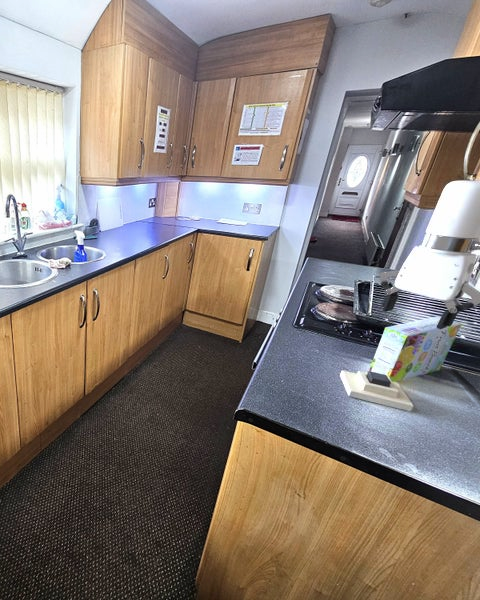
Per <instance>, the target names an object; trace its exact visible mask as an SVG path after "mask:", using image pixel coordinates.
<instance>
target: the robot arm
mask: <svg viewBox="0 0 480 600" xmlns="http://www.w3.org/2000/svg"><path fill="white" fill-rule="evenodd" d="M475 251H480V180H472V179H471V180H467V179H464V180H463V179H461V180H454V181H453V180H452V181H450V182H449V183H447V184H446V185H445V187H444V188H443V190H442V192H441V195H440V197H439V199H438V201H437V204H436V206H435V208H434V211H433V214H432V216H431V218H430V221H429V222H428V225H427V228H426V230H425V233H424V235H423V237H422V240H421V241H420V244H419V245H415V246H414V248H412V250H411V252H410V253H409V255H408V256H407V258H406V259H405V261H404V262H403V264H402V266H401V268H400V269H396V270H390V271H383V272H380V273H379V274H378V275H379V281H380V285H381V288H382V289H383V290H384V294H385V297H384V300H383V302H382V305H381V306H382V307H383V308H382V312H389V311H392V310H394V308H395V305H396V303H397V301H398V298H399V294H398V293H399V292H401V291H403V292H406V293H409V294H414V295H418V296H422V297H424V298H428V299H433V300H436V301H441V302H443V303H444V305H445V307H446V308H447V309H446V310H445V311H443V313H442V314H441V316H440V317H441V318H440V320H439V322H438V325H437V328H438V329H443V328H446V327H447V326H451V325H452V323H453V322H454V321H455V320H456V318H457V315H458V314H459V313H460V312H463V311H466V310H470V309H473V308H475V307H477V306H479V305H480V290H477V289H476V288H475V287H473V286H472V285H471V284H469V283H470V281H471V280H470V279H471V278H472V275H473V272H474V269H475V265H476V261H477V254H475V253H472V252H475ZM391 277H396V278H395V281H394V285H393V283H392V282H391V281H390V280H391V279H390V278H391ZM464 295H467V296H469V297H470V298H471V299H470V300H469V301H467V302H466V303H461V302H460V300H459V299H461V298H462V297H463V296H464Z"/></svg>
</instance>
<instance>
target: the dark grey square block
mask: <svg viewBox="0 0 480 600" xmlns="http://www.w3.org/2000/svg"><path fill="white" fill-rule="evenodd" d="M366 373H367V376H366V377H367V379H368V381H369V383H372V384H376V385H380V386H385V387H389V386H390V384H391V382H390V380H389V379H388V377H387V375H385V374H380V373H375V372H371V371H369V370H368V371H367V372H366Z"/></svg>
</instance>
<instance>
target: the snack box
mask: <svg viewBox="0 0 480 600" xmlns="http://www.w3.org/2000/svg"><path fill="white" fill-rule="evenodd" d="M440 318H441V316H440V315H437V316H434V317H428V318H424V319H419V320H414V321H410V322H406V323H405V322H404V323H401V324H400V323H399V324H396V325H391V326H386V327H384V330H383V333H382V335H381V338H380V341H379V343H378V346H377V348H376V351H375V354H374V356H373V359H372V362H371V364H370V367H369V369H368V371H371V372H375V373H380V374H385V375H387V377H389V378H390V379H391V381H392V382H396V383H398V382H400V381H404V380H408V379H411V378H415V377H419V376H423V375H428V374H430V373H433V372H439V371H440V370H441V368H442V366H443V364H444V362H445V360H446V358H447V355H448V353H449V352H450V349H451V348H452V345H453V344H454V341H455V339H456V337H457V335H458V333H459V331H460V329H461V327H462V325H463V324H462V323H461V322H459V321H455V320H454V322H453V323H452V325H451V326H447V327H446V328H443V329H438V328H437V325H438V322H439V320H440Z"/></svg>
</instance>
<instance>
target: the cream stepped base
mask: <svg viewBox="0 0 480 600" xmlns="http://www.w3.org/2000/svg"><path fill="white" fill-rule="evenodd" d="M367 373H368V372H366V371H360V370H358V371H357V372H351V371H347V370H343V369H342V370H341V372H340V374H339V377H340V379H341V381H342V384H343V386H344V388H345V391H346V393H347V395H348V397H351V398H354V399H358V400H362V401H367V402H371V403H375V404H378V405H383V406H387V407H391V408H395V409H398V410H403V411H406V412H412V410H413V408H414V404H413V403H412V401H411V400H410V398H409V396H408V395H407V394H406V392H405V391H404V390H403V388H402V386H401V385H400V383H399V382H392V381H391V379H390V378H389V377H388V379H389V380H390V382H391V384H390V386H389V387H385V386H380V385H376V384H372V383H369V381H368V379H367V377H366V376H367Z"/></svg>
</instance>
